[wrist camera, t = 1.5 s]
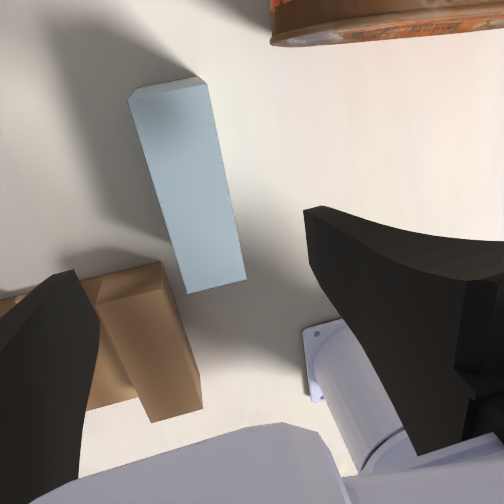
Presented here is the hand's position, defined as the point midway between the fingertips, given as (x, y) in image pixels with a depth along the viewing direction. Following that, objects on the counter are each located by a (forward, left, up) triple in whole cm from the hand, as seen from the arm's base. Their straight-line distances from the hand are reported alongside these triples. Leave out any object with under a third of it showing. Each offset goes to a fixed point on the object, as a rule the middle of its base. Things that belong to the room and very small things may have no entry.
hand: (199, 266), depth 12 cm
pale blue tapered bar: (0, 0, -10) cm, 10 cm away
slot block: (+9, +10, -10) cm, 17 cm away
